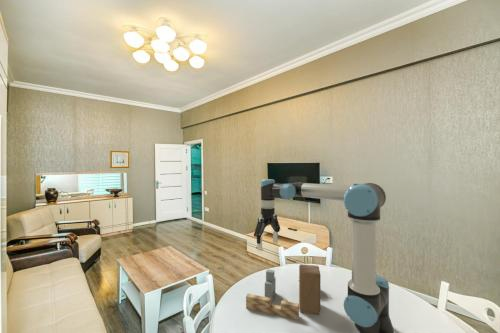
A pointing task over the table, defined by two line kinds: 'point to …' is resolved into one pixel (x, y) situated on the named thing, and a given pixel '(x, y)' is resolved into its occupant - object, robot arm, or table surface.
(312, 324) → the table surface
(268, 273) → the grey stepped block
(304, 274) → the wooden block
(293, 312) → the oak slotted plate
